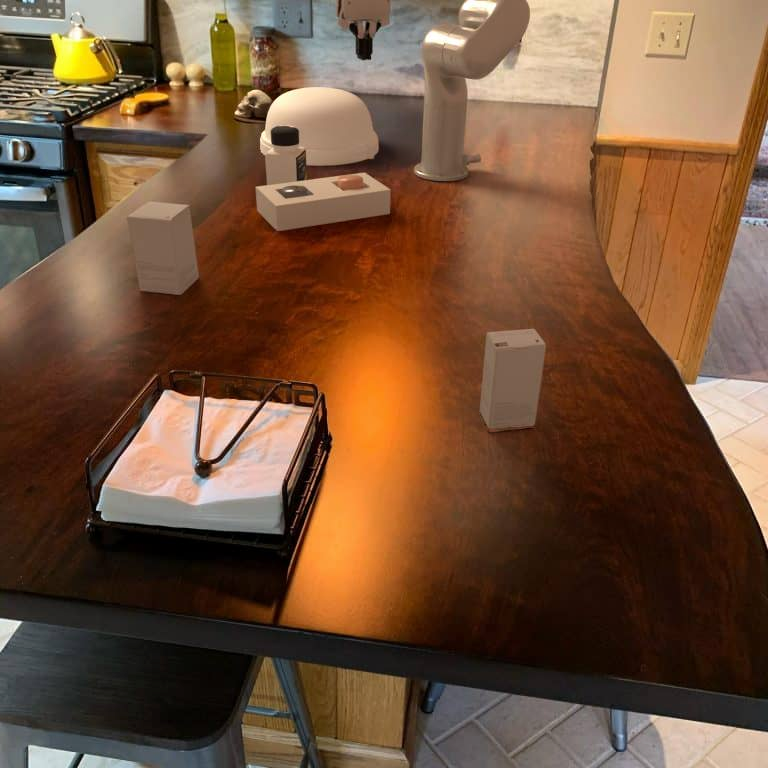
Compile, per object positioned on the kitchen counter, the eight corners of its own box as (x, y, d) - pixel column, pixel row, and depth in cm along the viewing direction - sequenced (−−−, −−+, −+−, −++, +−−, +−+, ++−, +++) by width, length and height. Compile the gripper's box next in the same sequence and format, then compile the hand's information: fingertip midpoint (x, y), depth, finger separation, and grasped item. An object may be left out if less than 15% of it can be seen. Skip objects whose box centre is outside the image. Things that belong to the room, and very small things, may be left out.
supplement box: (200, 277, 128) (191, 204, 121) (180, 296, 122) (170, 220, 115) (159, 272, 129) (148, 199, 122) (138, 291, 123) (125, 215, 116)
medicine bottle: (297, 188, 167) (295, 132, 161) (266, 185, 168) (263, 130, 162) (307, 178, 173) (305, 124, 167) (276, 176, 174) (273, 122, 168)
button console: (364, 195, 164) (364, 172, 161) (389, 213, 155) (390, 189, 152) (257, 211, 155) (255, 186, 152) (277, 231, 146) (276, 205, 143)
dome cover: (403, 145, 199) (405, 88, 191) (339, 174, 177) (339, 111, 169) (303, 127, 212) (301, 73, 205) (232, 152, 190) (227, 92, 183)
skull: (226, 119, 213) (230, 85, 214) (237, 137, 223) (241, 105, 224) (269, 120, 211) (272, 85, 213) (278, 138, 221) (281, 105, 223)
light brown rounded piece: (356, 192, 159) (356, 173, 157) (366, 200, 155) (367, 180, 153) (334, 195, 157) (334, 176, 155) (344, 203, 153) (344, 183, 151)
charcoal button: (302, 203, 155) (301, 184, 153) (311, 211, 151) (311, 191, 149) (279, 207, 153) (278, 187, 151) (288, 215, 149) (287, 195, 147)
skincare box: (523, 410, 97) (535, 325, 90) (535, 431, 93) (549, 344, 86) (476, 414, 96) (485, 329, 89) (486, 435, 92) (496, 348, 85)
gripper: (390, -49, 148) (388, 53, 158) (318, -48, 142) (321, 58, 152) (408, -47, 142) (406, 59, 152) (335, -45, 137) (337, 65, 147)
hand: (364, 58), depth 152 cm, fingers closed
